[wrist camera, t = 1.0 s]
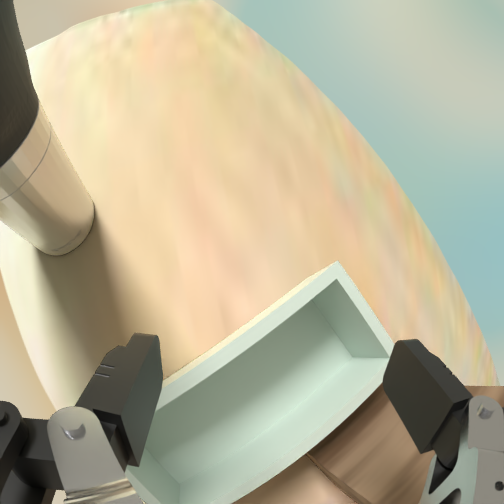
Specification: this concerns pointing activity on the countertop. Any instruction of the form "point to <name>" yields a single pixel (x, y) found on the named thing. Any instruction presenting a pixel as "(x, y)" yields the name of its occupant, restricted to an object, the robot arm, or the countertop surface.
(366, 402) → the walnut stand
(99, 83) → the countertop surface
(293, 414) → the sage bin
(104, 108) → the countertop surface
